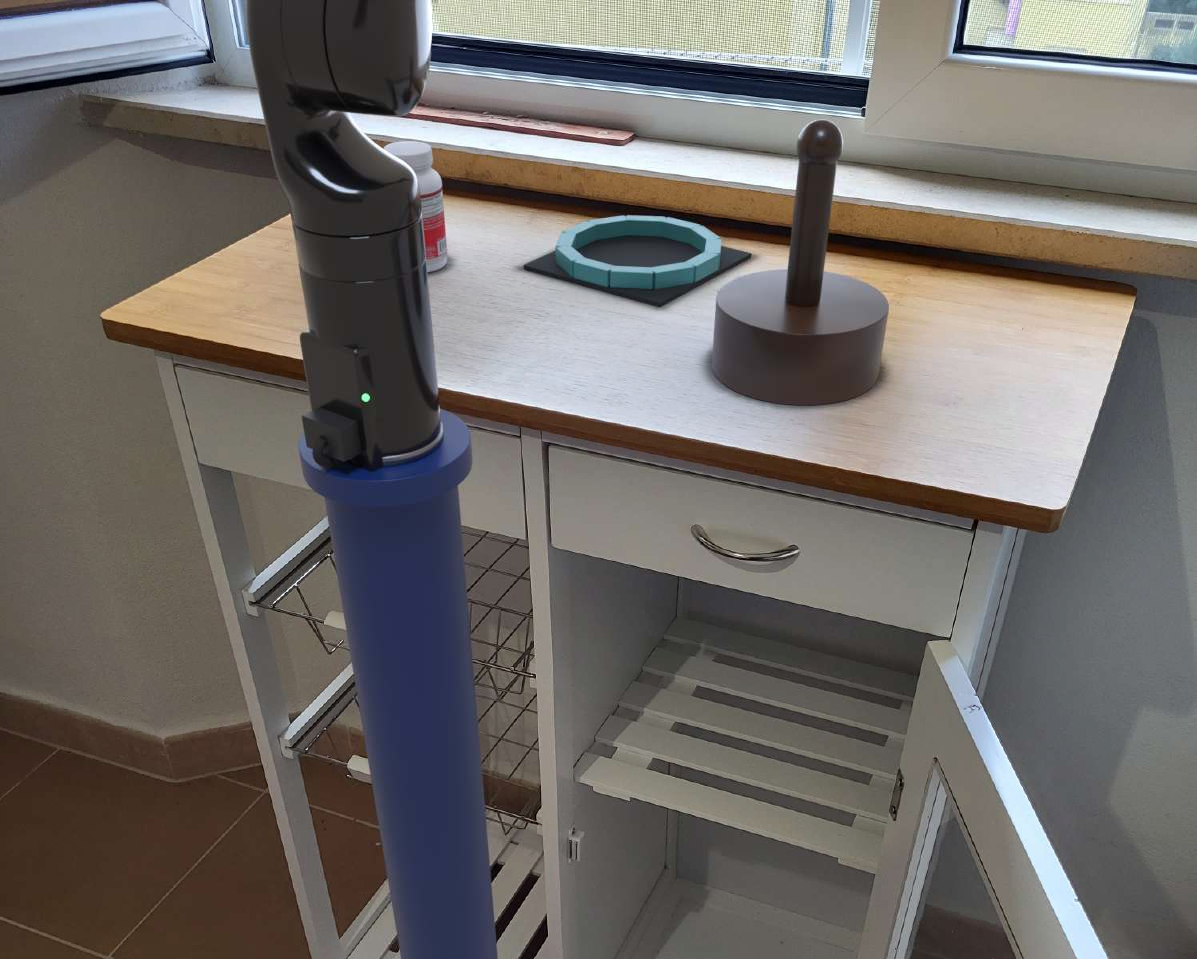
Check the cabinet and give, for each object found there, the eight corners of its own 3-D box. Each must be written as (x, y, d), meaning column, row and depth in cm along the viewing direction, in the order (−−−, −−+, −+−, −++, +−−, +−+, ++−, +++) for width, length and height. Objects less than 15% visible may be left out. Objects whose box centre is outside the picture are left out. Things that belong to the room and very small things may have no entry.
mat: (659, 307, 119) (660, 303, 119) (523, 268, 126) (523, 264, 126) (751, 257, 129) (751, 253, 129) (620, 224, 136) (620, 220, 136)
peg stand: (827, 421, 101) (863, 159, 88) (679, 375, 107) (691, 125, 94) (906, 361, 110) (950, 115, 96) (765, 322, 116) (788, 86, 103)
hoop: (659, 301, 119) (660, 285, 118) (524, 264, 126) (524, 248, 125) (750, 252, 129) (751, 236, 128) (620, 220, 136) (620, 205, 135)
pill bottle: (380, 259, 128) (366, 143, 121) (435, 250, 130) (425, 135, 123) (400, 279, 124) (388, 160, 117) (457, 269, 126) (448, 151, 119)
